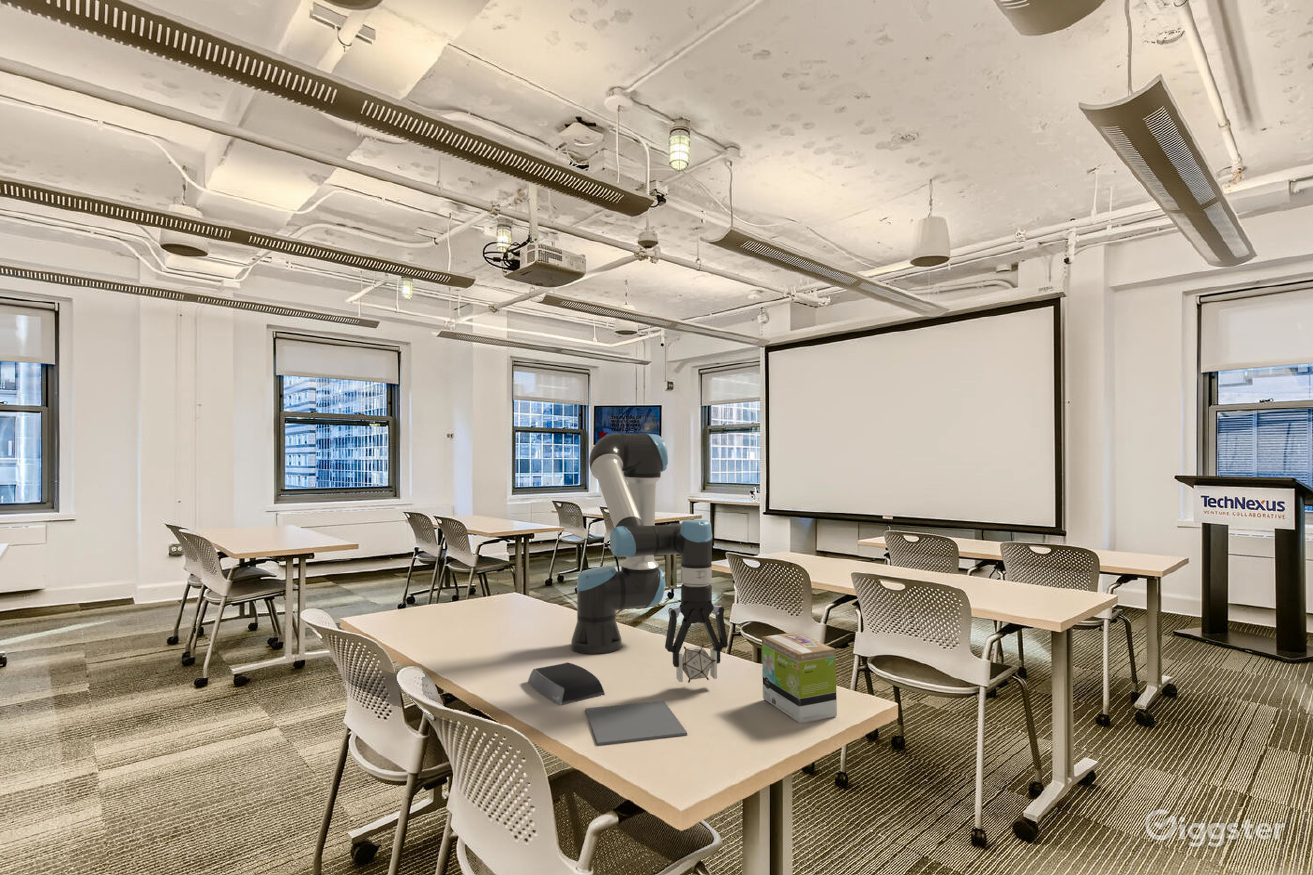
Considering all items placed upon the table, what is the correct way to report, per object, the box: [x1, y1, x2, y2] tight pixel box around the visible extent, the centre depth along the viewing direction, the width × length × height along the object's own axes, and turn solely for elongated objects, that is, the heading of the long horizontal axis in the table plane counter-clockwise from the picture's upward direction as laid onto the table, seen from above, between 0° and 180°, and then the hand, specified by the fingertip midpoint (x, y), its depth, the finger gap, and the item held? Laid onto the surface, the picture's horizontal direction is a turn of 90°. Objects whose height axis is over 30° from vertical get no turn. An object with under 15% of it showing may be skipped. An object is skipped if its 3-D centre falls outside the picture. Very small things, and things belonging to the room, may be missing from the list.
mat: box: [584, 700, 688, 746], centre depth 129 cm, size 18×18×1 cm
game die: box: [683, 643, 716, 684], centre depth 149 cm, size 9×8×10 cm
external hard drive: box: [527, 662, 606, 706], centre depth 150 cm, size 13×19×4 cm
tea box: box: [761, 631, 838, 724], centre depth 137 cm, size 15×10×15 cm, turn 22°
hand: (696, 678), depth 149 cm, fingers closed on game die, 8 cm apart
